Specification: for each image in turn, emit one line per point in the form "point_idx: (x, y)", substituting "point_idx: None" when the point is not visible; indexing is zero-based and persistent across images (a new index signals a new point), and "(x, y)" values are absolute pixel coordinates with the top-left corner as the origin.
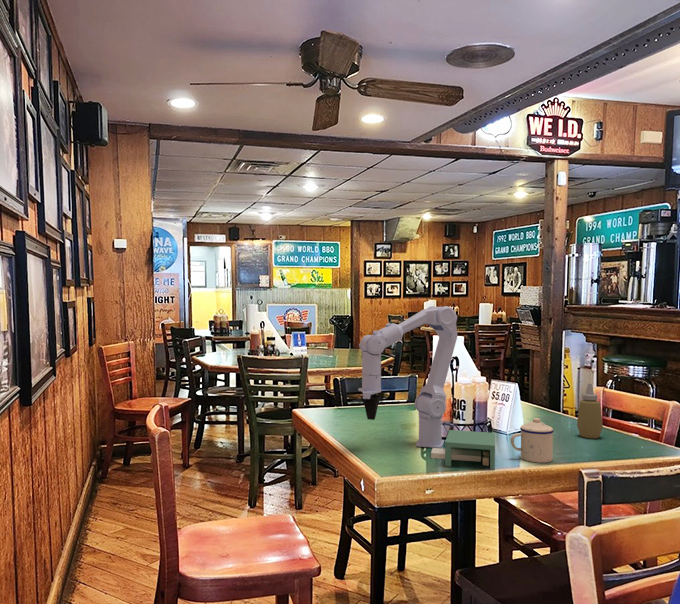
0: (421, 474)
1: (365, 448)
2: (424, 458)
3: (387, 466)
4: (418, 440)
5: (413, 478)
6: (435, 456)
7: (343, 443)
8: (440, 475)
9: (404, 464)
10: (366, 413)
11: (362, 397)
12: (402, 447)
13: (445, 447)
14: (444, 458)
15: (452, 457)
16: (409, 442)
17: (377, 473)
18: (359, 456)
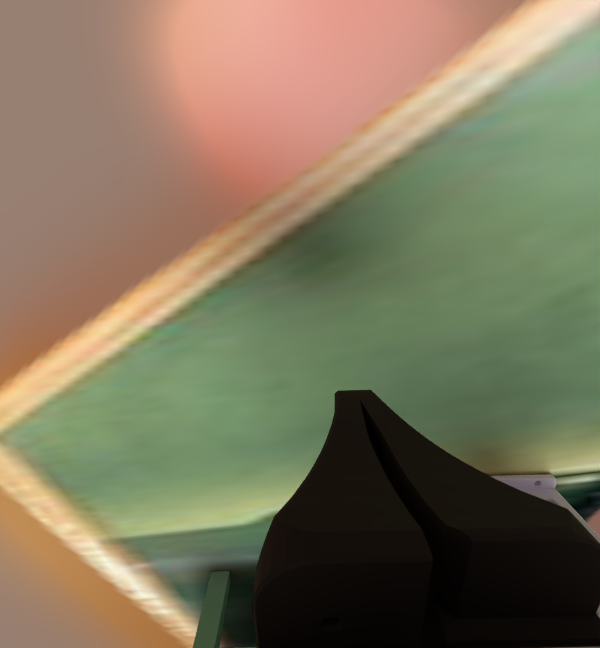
0: (90, 530)
1: (357, 294)
2: None
3: (120, 433)
4: (515, 479)
5: (38, 518)
6: None
7: (437, 147)
8: (110, 570)
9: (173, 476)
10: (335, 413)
11: (259, 575)
12: None
13: (193, 645)
14: None
15: None
16: (506, 444)
17: (19, 420)
18: (207, 304)
